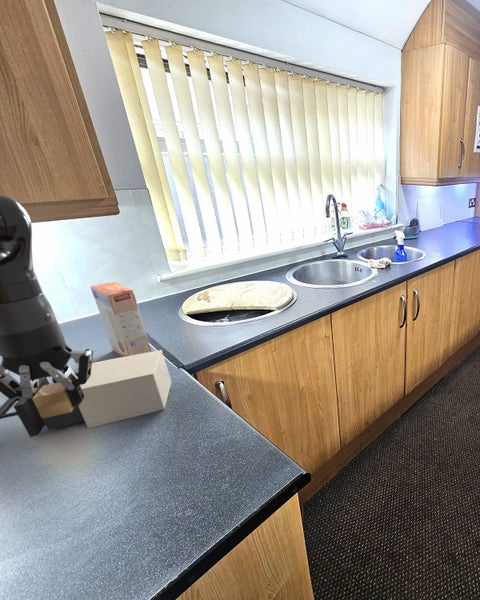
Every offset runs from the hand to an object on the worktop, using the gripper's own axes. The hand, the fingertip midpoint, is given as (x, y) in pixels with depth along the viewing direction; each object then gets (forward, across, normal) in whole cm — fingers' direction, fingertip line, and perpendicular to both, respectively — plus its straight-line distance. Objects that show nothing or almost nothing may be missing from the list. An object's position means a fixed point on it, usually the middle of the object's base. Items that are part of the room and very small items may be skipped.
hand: (61, 407), depth 60 cm
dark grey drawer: (+10, +6, -13) cm, 17 cm away
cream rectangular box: (+11, -6, -13) cm, 18 cm away
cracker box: (+11, 0, -41) cm, 43 cm away
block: (0, 0, 0) cm, 0 cm away
